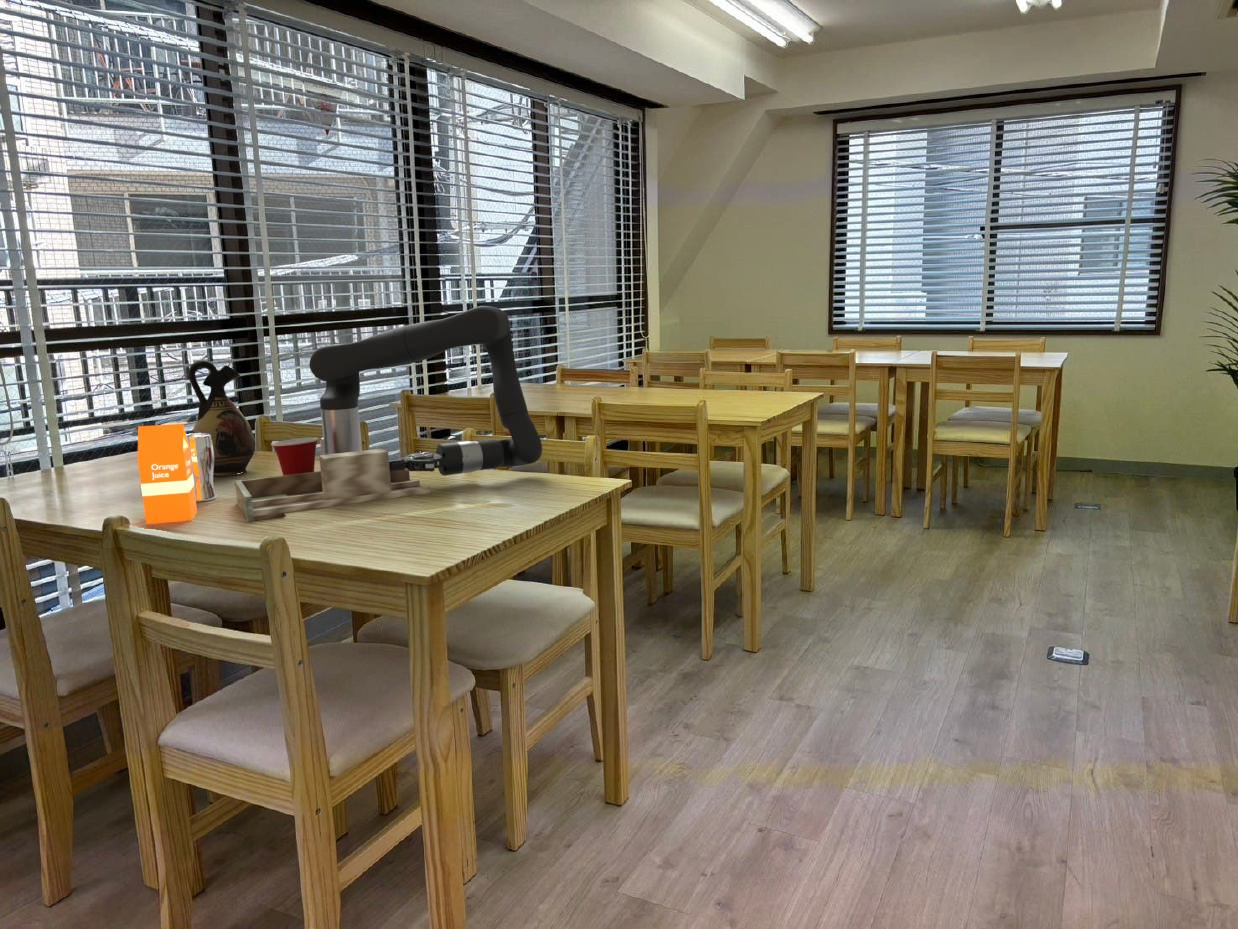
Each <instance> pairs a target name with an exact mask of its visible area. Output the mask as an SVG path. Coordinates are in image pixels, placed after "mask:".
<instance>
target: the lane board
mask: <svg viewBox="0 0 1238 929" xmlns="http://www.w3.org/2000/svg"><path fill="white" fill-rule="evenodd" d="M390 481H391V492H387V493H380V494H372V495H364V496H357V497H349V498H342V499H334V500H326V501H325V500H324V499H323V492H320V493H312V494H304V495H300V494H299V492H307V491H315V490H323V489H322V479H321V470H319V471H314V472H309V473H300V474H292V475H283V474H282V475H278V476H277V475H274V476H268V477H267V476H266V477H259V478H251V479H243V480H242V479H239V480H234V486H235V494H236V502H237V505H238V507H239V509H240V511H241V512H242V514H243V516H244V517H245V519H246V521H247V522H253V521H260V520H268V519H275V518H282V517H283V518H284V517H287V515H286V514H288V513H293V512H301V511H308V510H317V509H323V508H324V509H325V508H331V507H338V506H339V507H340V506H345V505H353V504H361V503H368V502H376V501H383V500H384V501H385V500H389V499H391V500H392V499H399V498H406V497H412V496H420V495H429V494H432V487H430V486H428V487H427V486H426V487H423V486H421V483H420V480H419V479H417V480H412V479H411V478H410V471H409V470H407V471H406V470H395V471H390ZM283 494H286V495H287V496H288V497H280V498H273V499H265V500H257V501H252V498H259V497H267V496H275V495H283Z"/></svg>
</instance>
